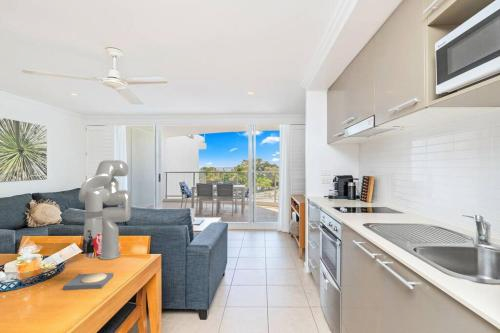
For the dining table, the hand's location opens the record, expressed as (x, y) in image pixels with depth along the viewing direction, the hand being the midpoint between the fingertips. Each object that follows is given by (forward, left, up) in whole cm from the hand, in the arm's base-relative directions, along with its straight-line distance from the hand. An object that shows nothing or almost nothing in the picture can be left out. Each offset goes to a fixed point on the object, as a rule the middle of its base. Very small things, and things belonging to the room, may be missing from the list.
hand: (94, 250), depth 134 cm
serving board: (0, -2, -16) cm, 16 cm away
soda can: (0, 0, -3) cm, 3 cm away
